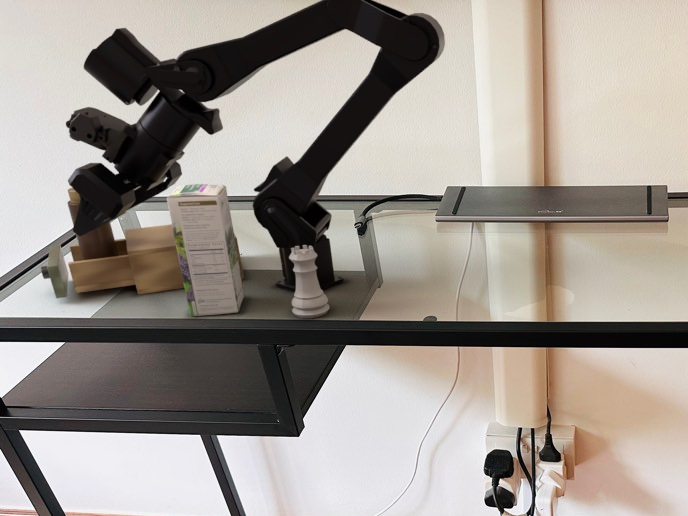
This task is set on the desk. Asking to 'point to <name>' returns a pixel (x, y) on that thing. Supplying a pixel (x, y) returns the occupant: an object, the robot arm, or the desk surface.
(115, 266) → the drawer
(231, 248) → the syrup box
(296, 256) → the rook chess piece
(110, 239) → the pepper mill
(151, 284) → the drawer unit
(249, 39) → the robot arm
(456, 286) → the desk surface
